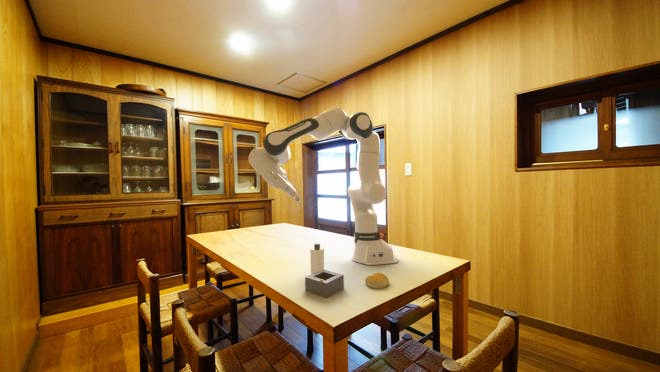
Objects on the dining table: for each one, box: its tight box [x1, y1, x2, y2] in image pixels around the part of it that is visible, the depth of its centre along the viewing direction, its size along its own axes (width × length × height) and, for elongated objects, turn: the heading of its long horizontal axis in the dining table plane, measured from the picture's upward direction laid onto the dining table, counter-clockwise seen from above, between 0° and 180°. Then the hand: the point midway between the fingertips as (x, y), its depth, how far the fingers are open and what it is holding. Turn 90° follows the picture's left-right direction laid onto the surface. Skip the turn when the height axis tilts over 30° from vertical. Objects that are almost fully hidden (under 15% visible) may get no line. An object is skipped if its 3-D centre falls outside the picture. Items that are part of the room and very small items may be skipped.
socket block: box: [304, 269, 345, 299], centre depth 97 cm, size 10×10×5 cm
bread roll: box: [364, 272, 390, 289], centre depth 101 cm, size 8×9×4 cm
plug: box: [309, 243, 325, 275], centre depth 111 cm, size 4×4×13 cm
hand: (297, 199), depth 112 cm, fingers open, 8 cm apart
